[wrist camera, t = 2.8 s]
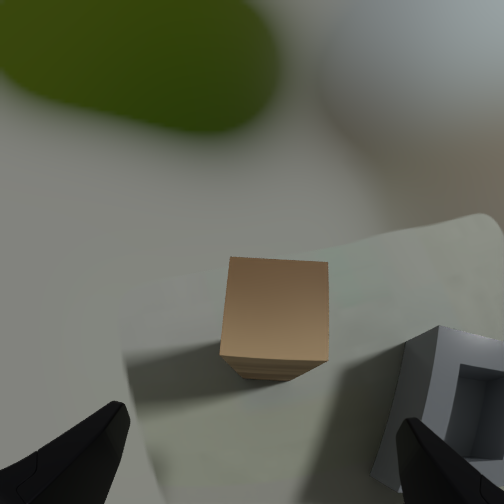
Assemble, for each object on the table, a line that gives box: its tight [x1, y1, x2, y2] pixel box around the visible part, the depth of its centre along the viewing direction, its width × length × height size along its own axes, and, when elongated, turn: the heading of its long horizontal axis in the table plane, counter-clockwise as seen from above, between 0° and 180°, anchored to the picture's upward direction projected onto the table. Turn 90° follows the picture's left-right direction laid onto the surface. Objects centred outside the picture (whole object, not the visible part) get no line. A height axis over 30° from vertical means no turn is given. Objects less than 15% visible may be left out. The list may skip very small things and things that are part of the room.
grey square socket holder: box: [370, 325, 504, 493], centre depth 14 cm, size 10×10×5 cm
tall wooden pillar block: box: [219, 257, 329, 381], centre depth 14 cm, size 3×3×12 cm
